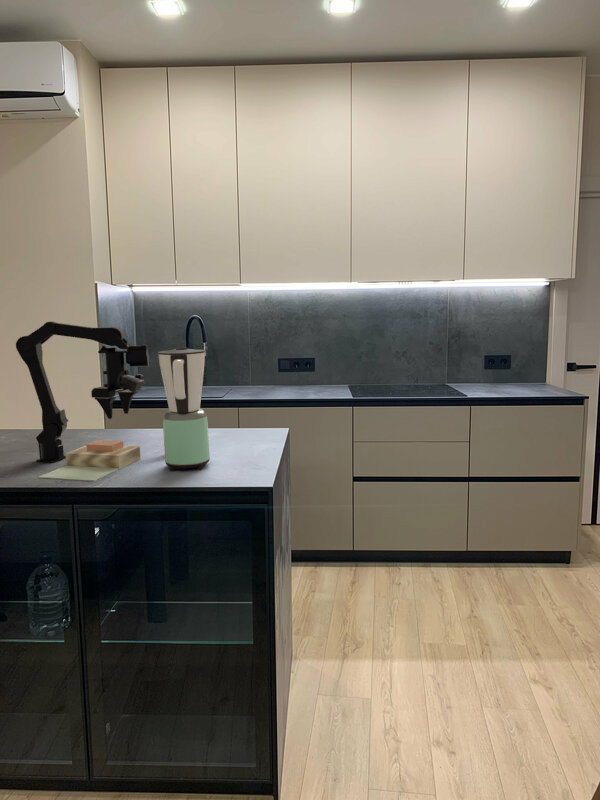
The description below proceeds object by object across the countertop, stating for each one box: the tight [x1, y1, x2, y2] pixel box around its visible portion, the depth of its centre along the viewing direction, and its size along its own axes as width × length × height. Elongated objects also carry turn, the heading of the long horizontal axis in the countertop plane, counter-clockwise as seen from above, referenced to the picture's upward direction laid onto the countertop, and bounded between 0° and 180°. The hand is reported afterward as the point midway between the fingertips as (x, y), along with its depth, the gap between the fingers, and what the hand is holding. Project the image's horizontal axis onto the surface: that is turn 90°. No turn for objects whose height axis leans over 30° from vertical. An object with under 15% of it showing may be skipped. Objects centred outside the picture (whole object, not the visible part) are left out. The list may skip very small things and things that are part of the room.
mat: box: [38, 465, 120, 482], centre depth 173 cm, size 18×12×1 cm, turn 75°
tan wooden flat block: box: [65, 445, 141, 470], centre depth 184 cm, size 18×12×4 cm, turn 75°
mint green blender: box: [157, 347, 211, 472], centre depth 174 cm, size 19×13×35 cm
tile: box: [85, 439, 124, 452], centre depth 185 cm, size 9×6×2 cm, turn 75°
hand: (118, 416), depth 191 cm, fingers open, 9 cm apart
